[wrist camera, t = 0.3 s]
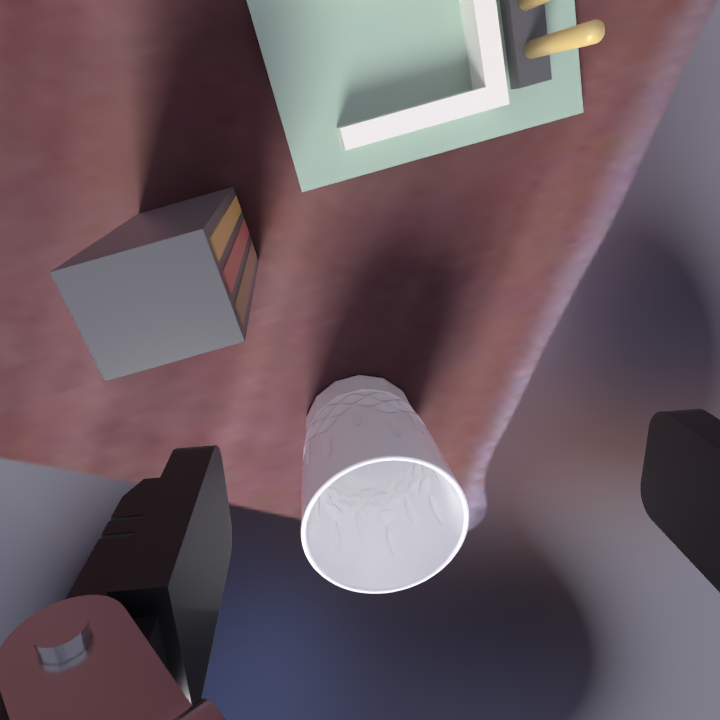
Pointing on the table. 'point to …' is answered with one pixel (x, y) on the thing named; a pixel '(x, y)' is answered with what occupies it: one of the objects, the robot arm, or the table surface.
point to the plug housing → (163, 285)
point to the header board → (414, 76)
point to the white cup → (376, 490)
